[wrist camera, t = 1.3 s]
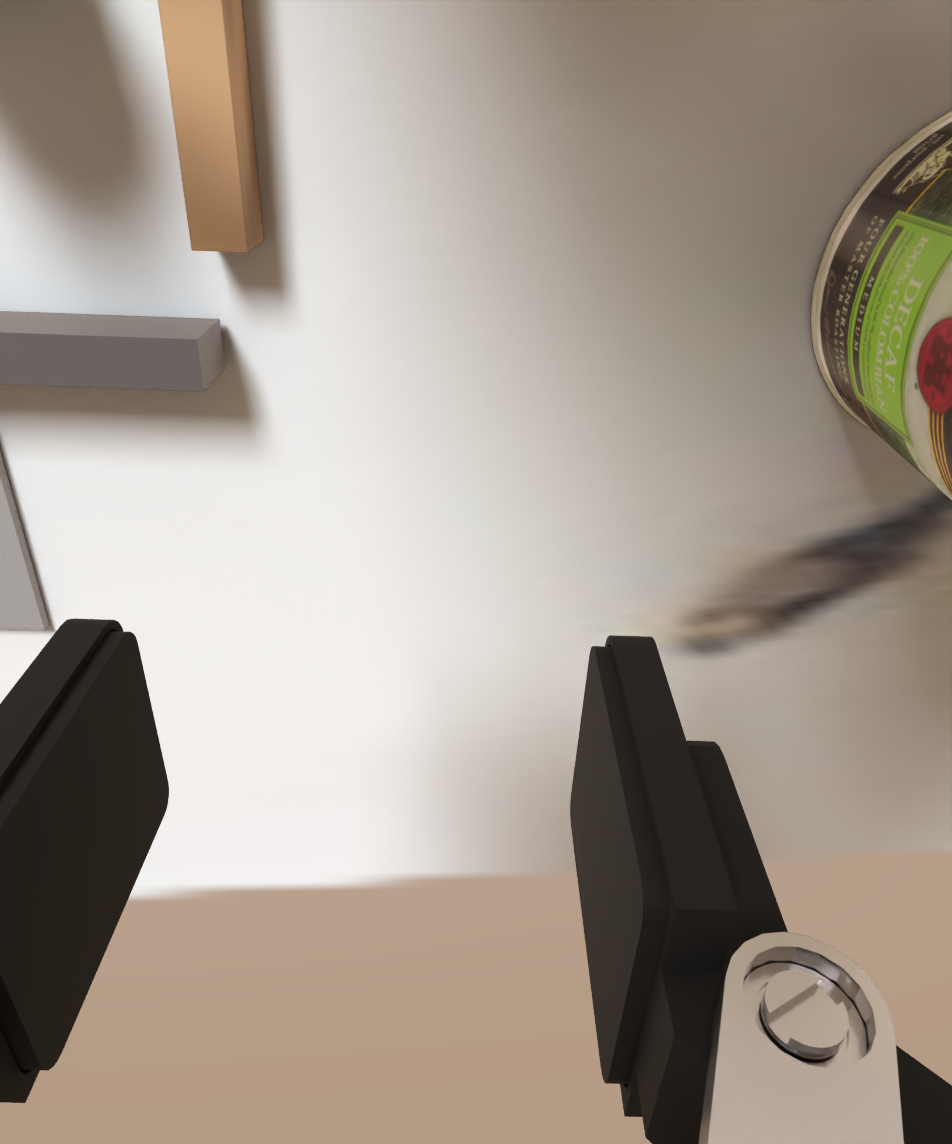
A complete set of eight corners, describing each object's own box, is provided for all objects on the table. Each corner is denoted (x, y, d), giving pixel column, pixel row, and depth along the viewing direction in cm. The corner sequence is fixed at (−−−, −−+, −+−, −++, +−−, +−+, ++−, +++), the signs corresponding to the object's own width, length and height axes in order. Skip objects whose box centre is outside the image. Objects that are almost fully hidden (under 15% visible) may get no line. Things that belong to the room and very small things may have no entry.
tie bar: (-113, 306, 25) (-165, 326, 23) (219, 319, 25) (196, 339, 23) (-97, 356, 25) (-146, 379, 23) (225, 367, 26) (204, 391, 24)
